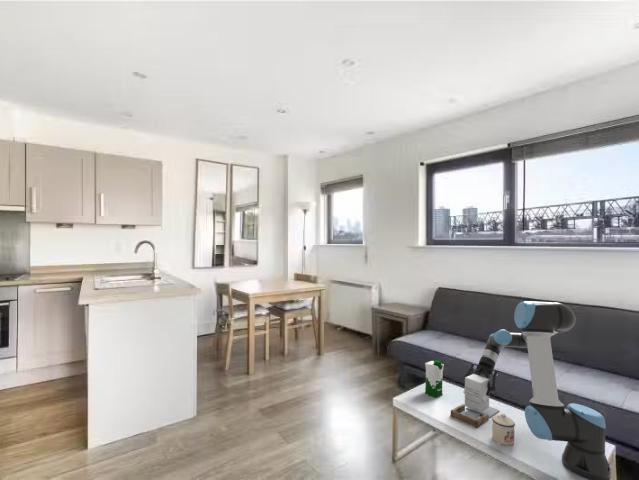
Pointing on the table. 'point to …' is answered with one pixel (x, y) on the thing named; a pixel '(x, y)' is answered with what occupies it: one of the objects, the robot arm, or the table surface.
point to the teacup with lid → (503, 429)
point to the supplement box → (476, 392)
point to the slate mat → (486, 411)
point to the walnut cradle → (475, 423)
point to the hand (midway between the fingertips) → (473, 397)
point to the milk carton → (434, 378)
